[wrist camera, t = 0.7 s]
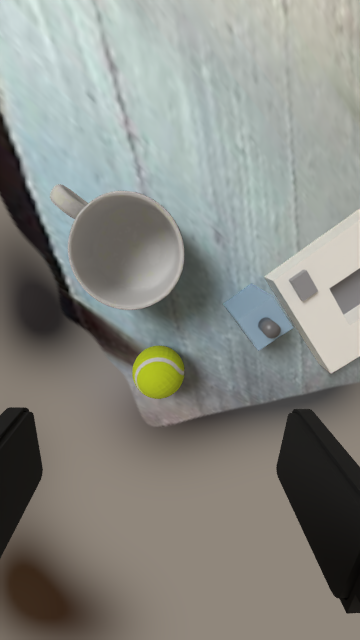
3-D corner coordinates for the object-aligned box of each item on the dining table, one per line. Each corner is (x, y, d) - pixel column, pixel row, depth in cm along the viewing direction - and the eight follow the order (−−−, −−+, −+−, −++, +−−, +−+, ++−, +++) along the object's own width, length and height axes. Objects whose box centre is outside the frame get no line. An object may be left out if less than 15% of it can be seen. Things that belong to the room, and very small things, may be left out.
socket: (378, 195, 30) (407, 189, 26) (421, 298, 34) (450, 306, 31) (263, 276, 32) (276, 282, 29) (318, 363, 37) (334, 376, 33)
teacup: (197, 257, 31) (207, 265, 23) (131, 309, 33) (121, 332, 25) (122, 154, 27) (104, 123, 20) (51, 220, 29) (10, 214, 21)
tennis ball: (125, 354, 35) (116, 381, 28) (165, 328, 34) (164, 350, 28) (154, 387, 37) (151, 419, 30) (192, 364, 36) (197, 391, 30)
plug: (251, 283, 32) (281, 300, 24) (268, 309, 34) (302, 334, 25) (222, 303, 33) (242, 327, 25) (240, 328, 34) (265, 359, 26)
